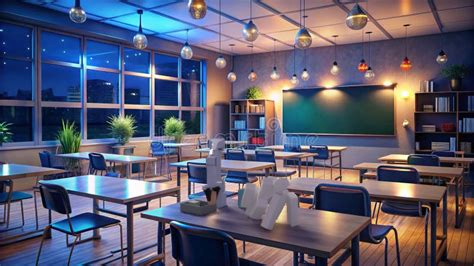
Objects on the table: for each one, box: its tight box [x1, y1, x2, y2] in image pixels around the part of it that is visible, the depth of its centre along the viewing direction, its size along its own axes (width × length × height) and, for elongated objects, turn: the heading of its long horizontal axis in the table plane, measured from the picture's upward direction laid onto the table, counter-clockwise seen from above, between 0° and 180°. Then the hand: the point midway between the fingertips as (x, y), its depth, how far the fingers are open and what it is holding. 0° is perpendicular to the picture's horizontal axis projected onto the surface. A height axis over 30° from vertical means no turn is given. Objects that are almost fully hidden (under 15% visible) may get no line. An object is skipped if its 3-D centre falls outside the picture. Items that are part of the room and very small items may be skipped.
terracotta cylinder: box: [207, 191, 216, 205], centre depth 215 cm, size 5×5×7 cm
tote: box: [179, 199, 218, 217], centre depth 227 cm, size 14×18×5 cm
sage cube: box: [188, 199, 200, 207], centre depth 229 cm, size 5×5×5 cm
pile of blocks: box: [241, 175, 300, 231], centre depth 198 cm, size 35×30×35 cm
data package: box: [237, 187, 246, 210], centre depth 235 cm, size 12×4×12 cm, turn 50°
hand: (212, 200), depth 215 cm, fingers closed on terracotta cylinder, 5 cm apart
